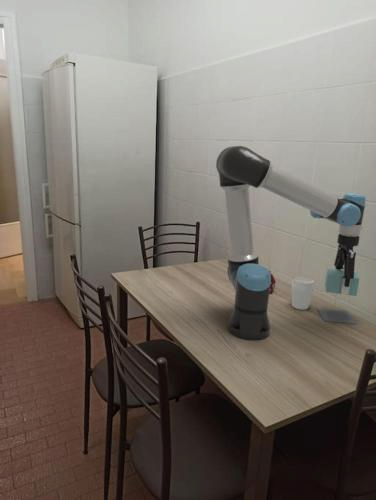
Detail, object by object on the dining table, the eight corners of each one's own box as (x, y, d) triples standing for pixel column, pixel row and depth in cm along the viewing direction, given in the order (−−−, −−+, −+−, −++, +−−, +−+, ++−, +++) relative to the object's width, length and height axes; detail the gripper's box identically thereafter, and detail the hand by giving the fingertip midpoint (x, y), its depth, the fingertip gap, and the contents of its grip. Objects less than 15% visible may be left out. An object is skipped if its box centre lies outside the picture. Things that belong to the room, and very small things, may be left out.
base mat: (356, 324, 141) (356, 323, 140) (324, 321, 142) (324, 320, 142) (346, 311, 152) (346, 310, 152) (317, 309, 153) (317, 308, 153)
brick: (356, 296, 138) (359, 278, 137) (325, 291, 142) (328, 274, 140) (353, 288, 147) (356, 272, 145) (325, 284, 150) (327, 268, 148)
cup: (308, 303, 159) (311, 277, 156) (312, 311, 150) (316, 284, 147) (287, 301, 160) (290, 275, 157) (290, 309, 151) (294, 282, 148)
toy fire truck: (276, 294, 168) (279, 272, 166) (250, 294, 167) (252, 272, 164) (272, 288, 175) (274, 268, 172) (247, 288, 174) (248, 268, 171)
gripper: (370, 241, 127) (359, 300, 133) (350, 229, 149) (342, 280, 154) (347, 240, 128) (338, 298, 134) (331, 228, 150) (323, 279, 155)
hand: (340, 289), depth 144 cm, fingers closed on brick, 10 cm apart
